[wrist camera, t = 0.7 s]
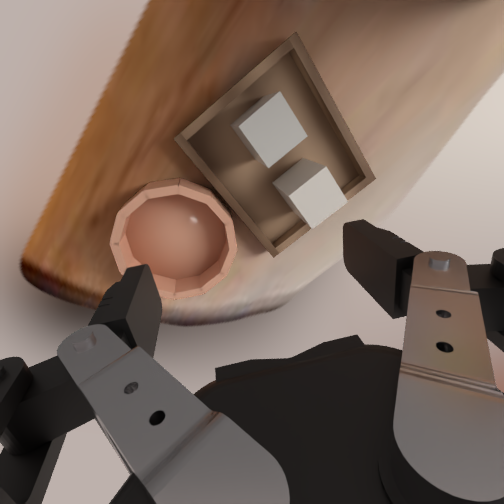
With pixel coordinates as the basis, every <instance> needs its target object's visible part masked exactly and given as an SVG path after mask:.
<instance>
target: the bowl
mask: <svg viewBox="0 0 504 504" xmlns="http://www.w3.org/2000/svg"><path fill="white" fill-rule="evenodd" d="M110 247H111V250H112V252H113V255H114V258H115V261H116V263H117V266H118V269H119V272H121V274H122V275H124V273H125V271H126V269H127V268H128V267H133V266H138V265H143V264H148V265H149V267H150V269H151V272H152V275H153V278H154V281H155V284H156V286H157V289H158V292H159V295H160V297H163V298H168V299H172V300H174V299H175V300H177V299H182V298H187V297H192V296H197V295H202V294H203V293H204V294H205V293H206V292H207V291H209V290H210V289H211V288H212V287H214V286H215V285H216V284H217V283H219V282H220V281H221V280H223V279H224V278H225V277H226V276H227V274H228V272H229V270H230V267H231V265H232V262H233V260H234V258H235V255H236V253H237V250H238V249H237V243H236V237H235V231H234V225H233V220H232V218H231V215H230V213H229V211H228V209H227V208H226V207H225V206H224V205H223V203H222V202H221V201H220V200H219V199H218V198H217V196H216V195H215V194H214V193H213V192H212V191H211V189H209V188H207V187H204V186H201V185H199V184H196V183H193V182H190V181H188V180H185V179H182V178H181V179H180V178H176V179H169V180H163V181H157V182H151V183H149V184H147V185H145V186H144V187H143V188H142V189H141V190H140V191H138V192H137V193H136V194H135V195H134V196H133V197H132V198H130V199H129V200H128V201H127V202H126V203H125V204H124V205H123V206H122V208H121V209H120V210H119V211H118V213H117V216H116V220H115V223H114V227H113V231H112V235H111V239H110Z"/></svg>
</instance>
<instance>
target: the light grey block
mask: <svg viewBox="0 0 504 504" xmlns="http://www.w3.org/2000/svg"><path fill="white" fill-rule="evenodd" d="M230 126H231V127H232V129H233V130H234V131H235V133H236V134H237V135H238V137H239V138H240V139H241V141H242V142H243V144H244V145H245V146H246V148H247V149H248V150H249V152H250V153H251V155H252V156H253V157H254V159H255V160H257V161H258V162H260V163H261V164H263V165H264V166H266V167H267V168H270V167H271V166H272V165H273V164H274V163H276V162H277V161H278V160H279V159H281V158H282V157H283V156H284V155H285V154H287V153H288V152H289V151H290V150H292V149H293V148H294V147H295V146H296V145H298V144H299V143H300V142H301V141H303V140H304V139H305V138H306V137H307V134H306V132H305V131H304V129H303V128H302V126H301V124H300V123H299V121H298V120H297V118H296V116H295V115H294V113H293V111H292V110H291V108H290V107H289V105H288V103H287V102H286V100H285V98H284V97H283V95H282V94H281V92H280V91H279V92H275V93H272V94H269V95H266V96H263V97H262V98H261V99H260V100H259V101H257V102H256V103H255V104H254V105H253V106H251V107H250V108H249V109H248V110H247V111H246V112H244V113H243V114H242V115H241V116H240V117H239V118H237V119H236V120H235V121H234V122H233V123H232V124H230Z"/></svg>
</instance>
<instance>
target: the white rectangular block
mask: <svg viewBox="0 0 504 504" xmlns="http://www.w3.org/2000/svg"><path fill="white" fill-rule="evenodd" d="M273 185H274V186H275V187H276V189H277V190H278V191H279V193H280V194H281V196H282V197H283V198H284V200H285V201H286V202H287V204H288V205H289V207H290V208H291V209H292V211H293V212H294V213H295V214H296V215H298V216H299V217H300V218H301V219H302V220H303V221H304V222H305V223H306V224H307V225H308V226H309V227H310V228H312V229H313V228H315V227H316V226H317V225H319V224H320V223H321V222H323V221H324V220H325V219H326V218H328V217H329V216H330V215H332V214H333V213H334V212H336V211H337V210H338V209H339V208H341V207H342V206H343V205H345V204H346V203H347V202H348V201H347V199H346V197H345V196H344V194H343V193H342V191H341V189H340V188H339V186H338V184H337V183H336V181H335V180H334V178H333V176H332V175H331V173H330V171H329V170H328V168H327V167H326V166H324V165H322V164H319V163H316V162H313V161H310V160H308V159H305V158H302V159H301V160H300V161H298V162H297V163H296V164H295V165H294V166H292V167H291V168H290V169H289V170H287V171H286V172H285V173H284V174H282V175H281V176H280V177H279V178H277V179H276V180H275V181H274V182H273Z"/></svg>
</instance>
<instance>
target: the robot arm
mask: <svg viewBox="0 0 504 504" xmlns="http://www.w3.org/2000/svg"><path fill="white" fill-rule="evenodd" d="M343 257H344V263H345V266H346V269H347V270H348V272H349V273H350V274H351V275H352V276H353V277H354V278H355V279H356V280H357V281H358V282H359V284H361V286H362V287H363V288H364V289H365V290H366V291H367V292H368V293H369V294H370V295H371V296H372V297H373V298H374V299H375V301H376V302H377V303H378V304H379V305H380V306H381V307H382V308H383V309H384V310H385V311H386V312H387V313H388V314H389V315H390V316H391V317H392V318H393V319H395V318H399V317H404V316H407V318H406V326H405V335H404V343H403V351H402V350H399V349H395V348H391V347H387V346H380V345H364V343H363V342H362V341H361V339H360V338H359V336H358V335H353V336H349V337H344V338H340V339H336V340H332V341H328V342H323V343H321V344H319V345H317V346H315V347H313V348H311V349H309V350H307V351H305V352H303V353H300V354H298V355H296V356H294V357H292V358H287V359H286V358H284V359H255V360H248V361H244V362H239V363H235V364H231V365H226V366H222V367H218V368H215V372H216V380H215V381H213V382H211V383H209V384H207V385H206V386H204V387H203V388H201V389H200V390H198V391H197V392H196V393H195V394H192V393H191V392H190V391H189V390H188V389H186V387H184V386H183V385H182V384H181V383H180V382H179V381H178V380H177V379H175V378H174V377H173V376H172V375H171V374H170V373H169V372H168V371H166V370H165V369H164V368H163V367H162V366H161V365H160V364H159V363H157V362H156V361H155V360H154V359H153V356H154V351H155V346H156V340H157V335H158V330H159V325H160V320H161V315H162V303H161V298H160V295H159V292H158V289H157V286H156V284H155V281H154V278H153V275H152V272H151V269H150V267H149V265H148V264H143V265H138V266H133V267H128V268H127V269H126V271H125V273H124V275H123V277H122V279H121V281H120V282H116V283H115V284H114V285H112V286H111V287H110V288H109V289H108V290H107V291H106V293H105V294H104V296H103V298H102V301H101V302H100V304H99V306H98V307H99V308H97V310H96V311H95V313H94V315H93V317H92V319H91V321H90V323H89V325H88V326H87V327H84V328H82V329H79V330H78V331H76V332H74V333H72V334H71V335H69V336H68V337H67V338H66V339H65V340H63V341H62V343H61V344H60V345H59V347H58V349H57V356H55V357H53V358H51V359H48V360H46V361H43V362H41V363H39V364H36V365H34V366H31V367H29V368H28V366H27V365H26V363H25V362H24V360H23V359H22V358H20V357H9V358H5V359H2V360H0V443H1V444H2V445H3V446H4V448H3V450H2V452H1V454H0V504H42V501H43V498H44V495H45V493H46V490H47V487H48V484H49V482H50V479H51V476H52V473H53V470H54V467H55V465H56V462H57V459H58V456H59V453H60V450H61V448H62V445H63V442H64V440H65V437H66V434H67V432H69V431H71V430H73V429H75V428H77V427H79V426H81V425H83V424H85V423H87V422H88V421H90V420H92V419H94V418H95V420H96V421H97V423H98V425H99V426H100V428H101V429H102V431H103V433H104V434H105V436H106V437H107V439H108V440H109V442H110V444H111V445H112V447H113V448H114V450H115V451H116V453H117V454H118V456H119V458H120V459H121V461H122V463H123V464H124V466H125V468H126V469H127V471H128V473H129V474H130V476H129V478H128V479H127V480H126V482H125V483H124V484H123V486H122V487H121V489H120V490H119V491H118V492H117V494H116V495H115V496H114V498H113V499H112V500H111V502H110V503H109V504H504V393H503V392H501V391H500V390H499V389H498V388H497V387H496V383H495V379H494V373H493V368H492V363H491V358H490V352H489V347H488V342H487V338H488V339H489V340H490V341H492V342H493V343H494V344H495V345H496V346H497V347H498V348H499V349H501V350H502V351H503V352H504V248H502V249H499V250H496V251H494V253H493V256H492V261H491V264H479V265H466V262H465V260H464V259H462V258H461V257H459V256H457V255H455V254H452V253H448V252H441V251H429V252H423V251H421V250H420V249H418V248H416V247H415V246H413V245H412V244H410V243H408V242H405V240H403V239H402V238H399V237H398V236H397V235H395V234H394V233H392V232H390V231H387V230H384V229H380V228H376V227H375V226H373V225H372V224H370V223H369V222H367V221H366V220H364V219H362V220H357V221H352V222H347V223H345V224H344V226H343Z"/></svg>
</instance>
